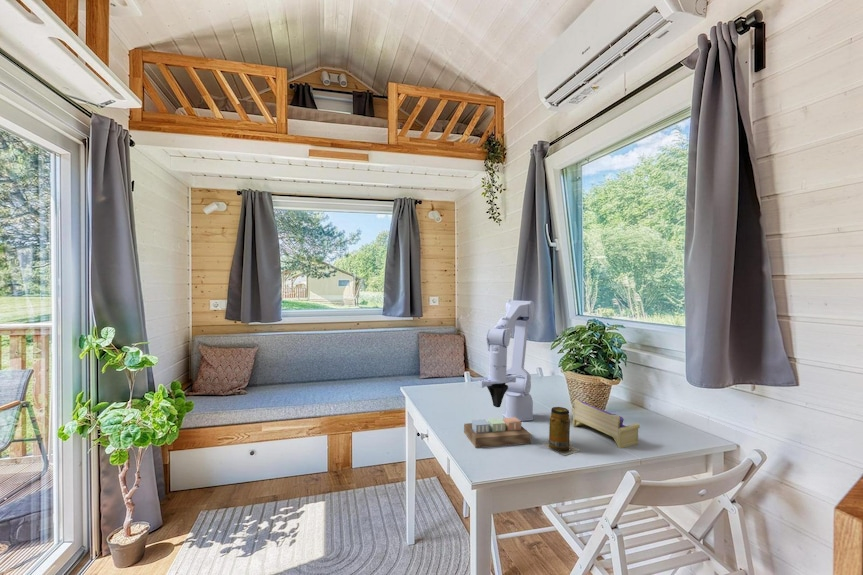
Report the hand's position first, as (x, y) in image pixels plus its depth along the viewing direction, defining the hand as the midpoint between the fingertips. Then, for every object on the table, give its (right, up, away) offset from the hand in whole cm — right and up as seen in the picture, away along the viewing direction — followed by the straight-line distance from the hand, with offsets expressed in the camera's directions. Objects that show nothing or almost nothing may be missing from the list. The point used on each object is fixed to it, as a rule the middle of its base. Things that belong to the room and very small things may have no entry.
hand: (496, 406), depth 130 cm
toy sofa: (+37, -11, +4) cm, 39 cm away
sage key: (0, -8, 0) cm, 8 cm away
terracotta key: (+5, -8, +1) cm, 10 cm away
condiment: (+19, -11, -7) cm, 23 cm away
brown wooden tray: (0, -10, 0) cm, 10 cm away
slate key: (-6, -8, -1) cm, 10 cm away
